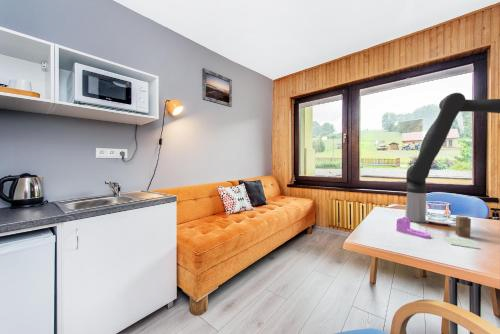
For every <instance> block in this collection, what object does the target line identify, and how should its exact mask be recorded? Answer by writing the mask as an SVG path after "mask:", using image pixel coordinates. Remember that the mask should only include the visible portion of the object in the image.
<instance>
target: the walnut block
mask: <svg viewBox="0 0 500 334" xmlns="http://www.w3.org/2000/svg"><path fill="white" fill-rule="evenodd" d="M471 223H472V219H471V218H470V217H468V216H462V215H461V216H459V215H456V216H455V235H456V236H457V238H460V237H461V238H466V239H470V238H471V229H472V227H471V225H472V224H471Z"/></svg>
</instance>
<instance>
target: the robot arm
mask: <svg viewBox="0 0 500 334" xmlns="http://www.w3.org/2000/svg"><path fill="white" fill-rule="evenodd" d="M438 107H439V113H438V115H437V117H436V119H435V120H434V122H432V124H431V125H430V127H429V128H428V130H427V131H426V133H425V136H424V138H423V140H422V142H421V145H420V147H419V148H420V149H419V154H418V156H417V158H416V159H415V162H414V164H413V165H411V166H409V168H407V170H406V180H405V181H406V203H405V215H404V217H407V218H409V219H410V222H412V223H413V222H414V223H421V224H422V223H426V218H427V217H426V216H427V187H426V185H427V184H426V180H427V178H428V176H429V174H430V171H431V168H432V165H433V163H434V161H435V159H436V157H437V156H438V154H439V153H440V151H441V148H442V147H443V146H444V143H445V141H446V140H447V138H448V135H449V133H450V131H451V128H452V126H453V123H454V121H455V119H456V117H457V116H458V114H459V113H460V112H473V113H474V112H475V113H490V114H491V113H492V114H500V98H489V99H466V97H465V95H464V94H463V93H462V92H454V93H449V94H448V95H446V96H445V97H444V98H443V99H441V100H440V102H439V105H438Z"/></svg>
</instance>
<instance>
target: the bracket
mask: <svg viewBox="0 0 500 334" xmlns="http://www.w3.org/2000/svg"><path fill="white" fill-rule="evenodd" d="M395 231H396V232H398V233H399V232H400V233H404V234H408V235H410V236H415V237H419V238H422V239H423V238H424V239H431V234H430V233H428V232H425V231H421V230H418V229H417V230H416V229H413V228H411V221H410V219H409V218H407V217H405V216H403V217H399V218H397V219H396V230H395Z"/></svg>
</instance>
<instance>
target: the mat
mask: <svg viewBox="0 0 500 334" xmlns="http://www.w3.org/2000/svg"><path fill="white" fill-rule="evenodd" d="M443 238H444V239H445V240H446V242H448V243H449V244H450V245H451V246H456V247H464V248H469V249H470V248H471V249H476V250H481V248H480V247H479V246H478V245H477V244H475V243H474V242H473V241H472V240H471V239H467V238H466V239H465V238H460V237H457V238H456V237H452V236H451V237H450V236H443Z"/></svg>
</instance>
